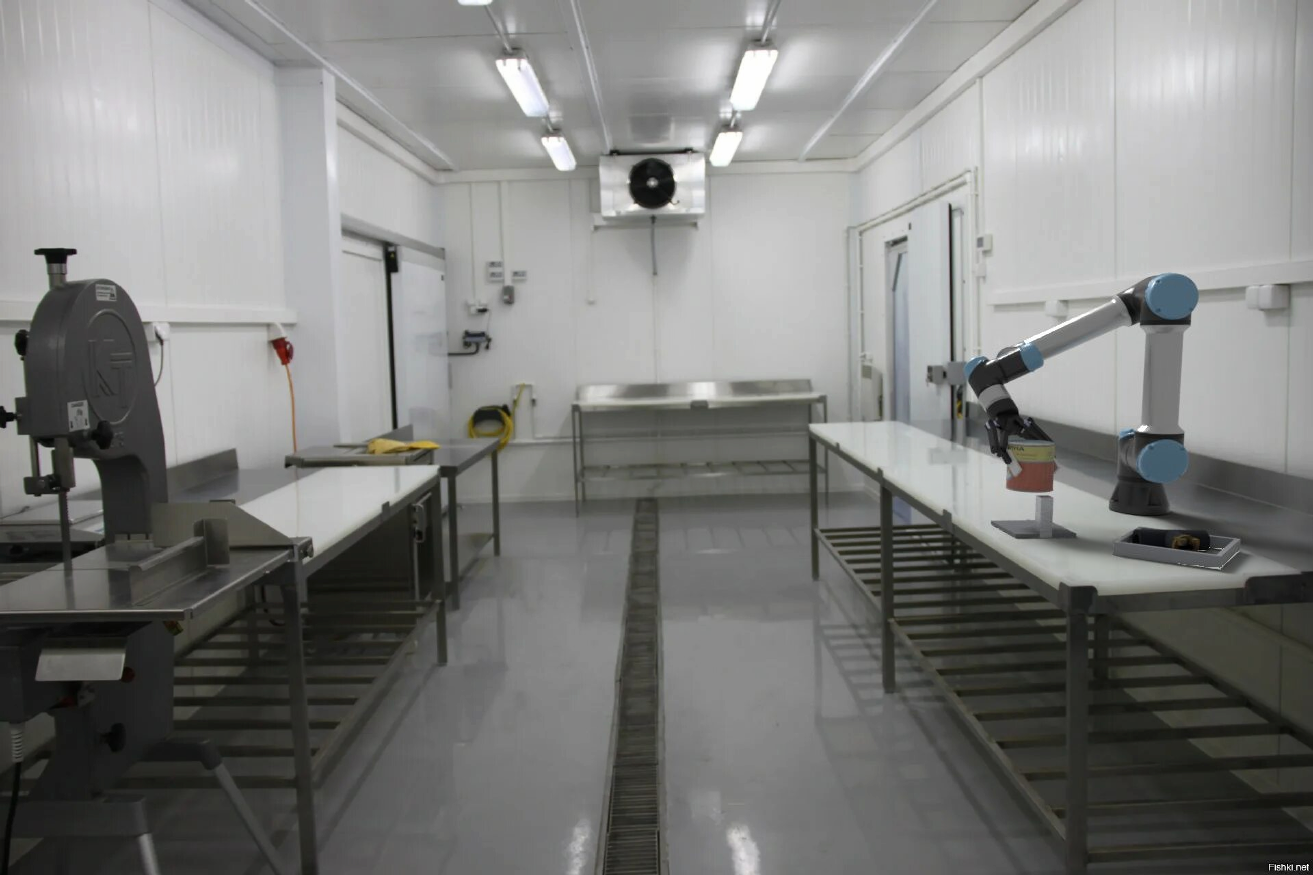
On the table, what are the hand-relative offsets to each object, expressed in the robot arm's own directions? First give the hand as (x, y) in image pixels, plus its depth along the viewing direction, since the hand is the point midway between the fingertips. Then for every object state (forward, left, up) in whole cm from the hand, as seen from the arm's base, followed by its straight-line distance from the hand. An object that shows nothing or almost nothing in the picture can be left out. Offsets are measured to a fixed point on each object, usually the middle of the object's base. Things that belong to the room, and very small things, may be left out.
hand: (1037, 472), depth 228 cm
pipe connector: (-32, +3, -16) cm, 36 cm away
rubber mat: (+1, 0, -15) cm, 15 cm away
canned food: (+2, -1, -5) cm, 6 cm away
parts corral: (-33, +3, -15) cm, 36 cm away
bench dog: (-4, +5, -15) cm, 16 cm away
